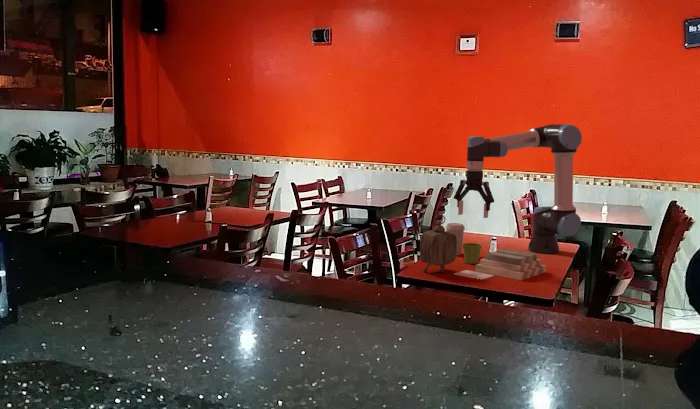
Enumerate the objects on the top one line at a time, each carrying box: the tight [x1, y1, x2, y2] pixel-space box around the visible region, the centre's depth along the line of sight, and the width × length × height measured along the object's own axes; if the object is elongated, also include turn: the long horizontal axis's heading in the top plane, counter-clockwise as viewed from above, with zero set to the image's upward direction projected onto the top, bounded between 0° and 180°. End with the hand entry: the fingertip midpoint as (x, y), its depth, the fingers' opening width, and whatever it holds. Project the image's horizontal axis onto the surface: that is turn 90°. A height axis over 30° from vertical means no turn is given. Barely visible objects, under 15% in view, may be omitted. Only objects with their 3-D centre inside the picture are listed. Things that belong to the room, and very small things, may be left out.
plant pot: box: [462, 242, 483, 265], centre depth 291 cm, size 9×9×9 cm
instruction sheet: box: [453, 269, 495, 281], centre depth 268 cm, size 10×14×1 cm
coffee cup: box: [445, 222, 466, 256], centre depth 310 cm, size 10×10×15 cm
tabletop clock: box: [419, 214, 457, 273], centre depth 271 cm, size 14×9×25 cm, turn 127°
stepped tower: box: [474, 248, 547, 281], centre depth 274 cm, size 22×22×8 cm
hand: (472, 216), depth 289 cm, fingers open, 13 cm apart
